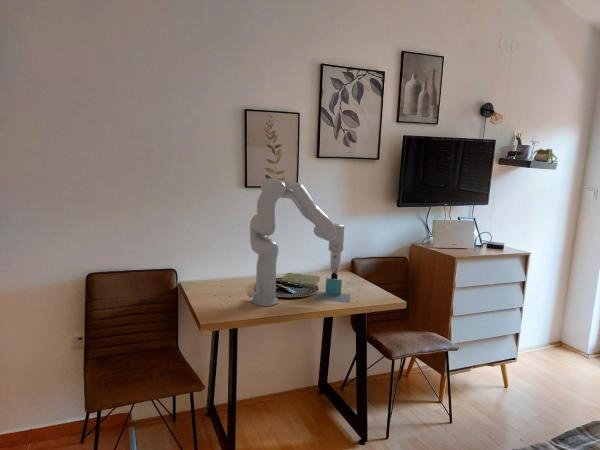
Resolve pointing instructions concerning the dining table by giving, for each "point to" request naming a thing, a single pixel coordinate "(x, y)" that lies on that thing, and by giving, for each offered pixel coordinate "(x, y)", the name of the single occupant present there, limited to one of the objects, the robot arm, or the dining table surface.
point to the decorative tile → (301, 279)
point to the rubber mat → (332, 297)
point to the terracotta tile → (333, 286)
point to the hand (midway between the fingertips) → (334, 281)
